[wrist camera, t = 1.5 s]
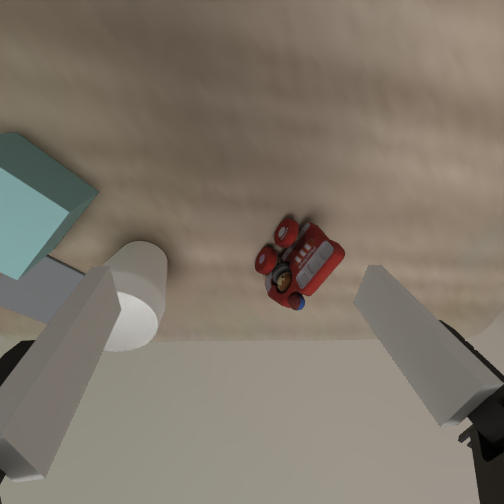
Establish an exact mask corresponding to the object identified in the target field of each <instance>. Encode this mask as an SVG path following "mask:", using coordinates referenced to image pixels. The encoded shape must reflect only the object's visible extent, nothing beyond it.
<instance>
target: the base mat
mask: <svg viewBox="0 0 504 504" xmlns="http://www.w3.org/2000/svg"><path fill="white" fill-rule="evenodd" d="M85 275H86V274H85V273H83V272H81V271H79V270H77V269H75V268H73V267H71V266H69V265H67V264H65V263H63V262H61V261H59V260H57V259H55V258H53V257H51V256H49V255H46V256H45V257H44V258H43V259H42V260H41V261H39V262H38V263H37V264H36V265H35V266H34V267H32V268H31V269H30V270H29V271H28V272H26V273H25V274H24V275H23V276H22V277H21V278H19V279H18V280H16V279H13V278H11V277H9V276H7V275H5V274H2V275H1V277H0V306H2V307H4V308H7V309H10V310H12V311H15V312H17V313H20V314H23V315H25V316H28V317H30V318H33V319H36V320H38V321H41V322H43V323H46V324H48V323H49V322H50V321H51V319H52V318H53V317H54V315H55V314H56V313H57V311H58V310H59V309H60V308H61V306H62V305H63V304H64V302H65V301H66V300H67V298H68V297H69V296H70V294H71V293H72V292H73V290H74V289H75V288H76V286H77V285H78V284H79V282H80V281H81V280H82V279H83V277H84V276H85Z"/></svg>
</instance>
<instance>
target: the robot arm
mask: <svg viewBox="0 0 504 504" xmlns="http://www.w3.org/2000/svg"><path fill="white" fill-rule="evenodd" d="M353 303H354V304H355V306H356V307H357V308H358V310H359V311H360V313H361V314H362V316H363V317H364V319H365V320H366V321H367V323H368V324H369V326H370V327H371V329H372V330H373V331H374V333H375V334H376V336H377V337H378V339H379V340H380V341H381V343H382V344H383V346H384V347H385V349H386V350H387V351H388V353H389V354H390V355H391V357H392V359H393V360H394V361H395V363H396V364H397V366H398V367H399V369H400V370H401V372H402V373H403V374H404V376H405V377H406V379H407V380H408V382H409V383H410V384H411V386H412V387H413V389H414V390H415V392H416V393H417V394H418V396H419V397H420V399H421V400H422V402H423V403H424V404H425V406H426V407H427V409H428V410H429V412H430V413H431V414H432V416H433V417H434V419H435V420H436V422H437V423H438V425H439V426H440V427H446V426H453V425H458V424H459V423H461V422H462V421H463V420H464V419H465V418H466V417H468V418H469V419H470V421H471V422H472V423H473V424H472V425H471V426H470V427H469V428H468V429H466V431H464V432H463V433H462V434H461V435H459V439H458V441H459V442H461V443H462V442H463V441H465V440H466V439H467V438H468V437H470V439H471V441H470V442H469V443H468V444H467V446H468V447H470V448H472V451H473V459H474V466H475V473H476V479H477V486H478V493H479V500H480V504H504V376H503V375H502V374H501V373H500V372H499V371H498V370H497V369H496V368H495V367H494V366H493V365H492V364H491V363H490V362H489V361H488V360H486V359H485V358H484V357H483V356H482V355H481V354H480V353H479V352H478V351H477V350H474V347H473V346H472V345H470V344H469V343H468V342H467V341H465V339H464V338H463V337H462V336H461V335H460V334H459V333H458V332H457V331H456V330H455V329H453V328H452V327H450V326H449V325H447V324H446V323H444V322H443V321H441V320H438V319H437V318H435V317H434V316H433V315H432V314H431V313H430V312H429V311H428V310H427V309H426V308H425V307H424V306H423V305H422V304H421V303H420V302H419V301H418V300H417V299H416V298H415V297H414V296H413V295H412V294H411V293H410V292H409V291H408V290H407V289H406V288H404V287H403V286H402V285H401V284H400V283H399V282H398V281H397V280H396V279H395V278H394V277H393V276H392V275H391V274H390V273H389V272H388V271H387V270H386V269H385V268H384V267H383V266H382V265H368V268H367V270H366V273H365V275H364V277H363V280H362V282H361V285H360V287H359V290H358V292H357V294H356V297H355V299H354V302H353ZM120 312H121V306H120V302H119V299H118V295H117V291H116V288H115V284H114V280H113V277H112V273H111V269H110V266H98V267H91V268H90V269H89V271H88V272H87V273H86V275H85V276H84V277H83V279H82V280H81V281H80V282H79V284H78V285H77V286H76V288H75V289H74V290H73V292H72V293H71V294H70V296H69V297H68V298H67V300H66V301H65V302H64V304H63V305H62V306H61V308H60V309H59V310H58V311H57V313H56V314H55V315H54V317H53V318H52V319H51V321H50V322H49V323H48V325H47V326H46V327H45V329H44V330H43V331H42V333H41V334H40V335H39V337H38V338H37V339H36V340H28V341H21V342H20V343H18V344H17V345H16V346H14V347H13V348H12V349H10V350H9V351H8V352H6V353H5V354H4V355H3V356H2V357H1V358H0V484H1V482H2V480H3V478H4V476H5V475H6V476H7V477H9V478H10V479H11V480H13V481H14V482H21V481H29V480H36V479H44V478H46V475H47V473H48V471H49V469H50V467H51V464H52V462H53V460H54V458H55V455H56V453H57V451H58V449H59V447H60V444H61V442H62V440H63V438H64V436H65V433H66V431H67V429H68V427H69V425H70V422H71V420H72V418H73V416H74V413H75V411H76V409H77V407H78V405H79V403H80V400H81V398H82V396H83V393H84V392H85V389H86V387H87V385H88V382H89V381H90V378H91V376H92V374H93V372H94V369H95V367H96V365H97V363H98V361H99V358H100V356H101V354H102V352H103V350H104V347H105V345H106V343H107V341H108V339H109V336H110V334H111V332H112V330H113V328H114V325H115V323H116V321H117V319H118V317H119V314H120ZM0 504H2V503H1V498H0Z"/></svg>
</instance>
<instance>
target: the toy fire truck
mask: <svg viewBox="0 0 504 504" xmlns="http://www.w3.org/2000/svg"><path fill="white" fill-rule="evenodd" d="M274 241H275V244H276V245H277V246H280V247H282V248H288V249H287V250H286V251H285V253H284V254H283V256H282V257H281V258H279V257H278V255H277V252H276V250H274V249H272V248H270V247H265V248H263V249H262V250H261V251H260V253H259V254H258V256H257V259H256V262H255V269H256V271H257V272H258V273H261V274H263V275H267V274H269V273H270V274H269V275H268V276H267V278H266V280H265V286H266V289H267V292H268V296H269V297H270V298H272V299H273V300H275V301H276V302H277V303H279V304H280V305H282V306H285V307H287V308H292V309H293V310H301V309H302V308H303V307H304V305H305V300H304V297H303V296H302V295H303V294H304V295H306V296H311V295H312V294H313V293H314V292H315V291H316V290H317V289H318V288H319V286H320V285H321V284H322V283H323V282H324V281H325V280H326V278H327V277H328V276H329V275H330V274H331V273H332V271H333V270H334V269H335V268H336V267H337V266H338V264H339V263H340V262H341V261H342V260H343V258H344V256H345V251H344V249H343V248H342V247H341V246H340V245H339V244H338V243H336V242H334V241H332V240H329V238H328V237H327V236H326V235H325V234H324V233H323V231H322V230H321V229H320V228H319V227H318V226H317V225H315V224H313V223H311V222H308V223H306V224H305V225H304V227H303V228H302V229H301V231H300V232H299V225H298V223H297V222H296V221H294V220H292V219H290V218H287V219H285V220H283V221H282V222H281V223H280V225H279V226H278V228H277V230H276V232H275V236H274Z"/></svg>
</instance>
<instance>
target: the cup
mask: <svg viewBox="0 0 504 504" xmlns="http://www.w3.org/2000/svg"><path fill="white" fill-rule="evenodd" d="M102 266H110V269H111V273H112V277H113V280H114V284H115V288H116V291H117V295H118V299H119V302H120V306H121V312H120V314H119V317H118V319H117V321H116V323H115V325H114V328H113V330H112V332H111V334H110V336H109V339H108V341H107V343H106V345H105V347H104V350H106V351H128V350H133V349H136V348H139V347H142V346H144V345H146V344H147V343H148V342H150V341H151V340H152V339H153V338H154V336H155V335H156V333H157V330H158V327H159V324H160V321H161V318H162V316H163V313H164V309H165V299H166V281H167V258H166V255H165V253H164V252H163V251H162V250H161V249H160V248H159V247H158V246H156V245H154V244H152V243H149V242H145V241H134V242H130V243H128V244H126V245H125V246H124V247H122V248H121V249H120V250H119V251H118V252H117V253H116V254H114V255H113V256H112V257H111V258H110V259H109V260H108V261H106V262H105V263H104V264H103V265H102Z"/></svg>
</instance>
